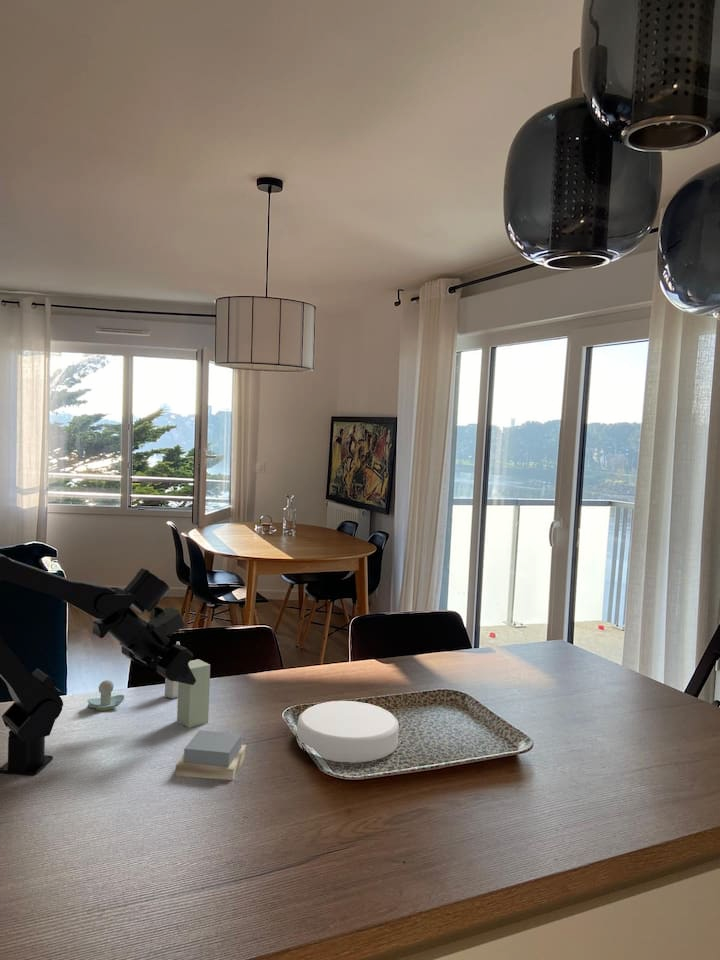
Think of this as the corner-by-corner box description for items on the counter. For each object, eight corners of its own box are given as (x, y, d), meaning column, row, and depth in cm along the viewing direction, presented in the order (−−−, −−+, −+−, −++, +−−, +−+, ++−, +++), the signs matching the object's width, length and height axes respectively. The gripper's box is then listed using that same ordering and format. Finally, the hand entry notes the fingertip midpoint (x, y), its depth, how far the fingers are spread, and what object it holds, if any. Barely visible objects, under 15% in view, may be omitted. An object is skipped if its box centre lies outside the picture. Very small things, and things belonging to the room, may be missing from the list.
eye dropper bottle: (191, 695, 161) (193, 642, 161) (167, 700, 158) (169, 646, 157) (184, 689, 165) (186, 638, 164) (160, 693, 162) (162, 641, 161)
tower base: (232, 783, 123) (233, 769, 123) (175, 779, 124) (175, 765, 124) (245, 758, 133) (246, 744, 133) (192, 753, 134) (193, 740, 134)
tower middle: (228, 766, 124) (229, 752, 124) (183, 762, 125) (184, 748, 125) (241, 747, 132) (241, 733, 132) (199, 743, 133) (199, 729, 133)
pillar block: (208, 722, 147) (210, 664, 146) (188, 727, 144) (190, 668, 143) (196, 715, 150) (198, 659, 150) (177, 720, 147) (179, 663, 146)
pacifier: (84, 705, 153) (88, 714, 148) (84, 676, 153) (89, 684, 148) (119, 700, 157) (125, 709, 152) (120, 672, 157) (126, 680, 152)
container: (276, 746, 138) (277, 722, 138) (329, 713, 155) (330, 692, 155) (369, 773, 129) (370, 748, 128) (414, 735, 146) (415, 713, 146)
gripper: (185, 607, 133) (233, 655, 141) (137, 588, 146) (183, 633, 155) (144, 657, 128) (197, 703, 136) (98, 633, 141) (149, 676, 150)
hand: (182, 676), depth 145 cm, fingers open, 9 cm apart
